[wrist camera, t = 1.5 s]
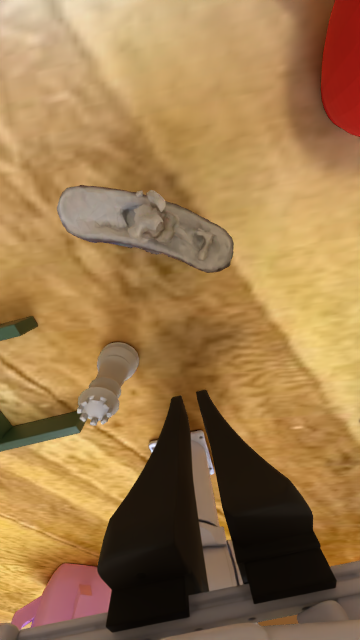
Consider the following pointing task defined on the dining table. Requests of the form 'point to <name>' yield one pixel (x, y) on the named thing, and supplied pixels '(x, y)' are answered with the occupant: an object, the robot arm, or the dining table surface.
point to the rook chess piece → (108, 382)
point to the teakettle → (67, 597)
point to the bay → (9, 437)
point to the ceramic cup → (342, 66)
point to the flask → (145, 225)
